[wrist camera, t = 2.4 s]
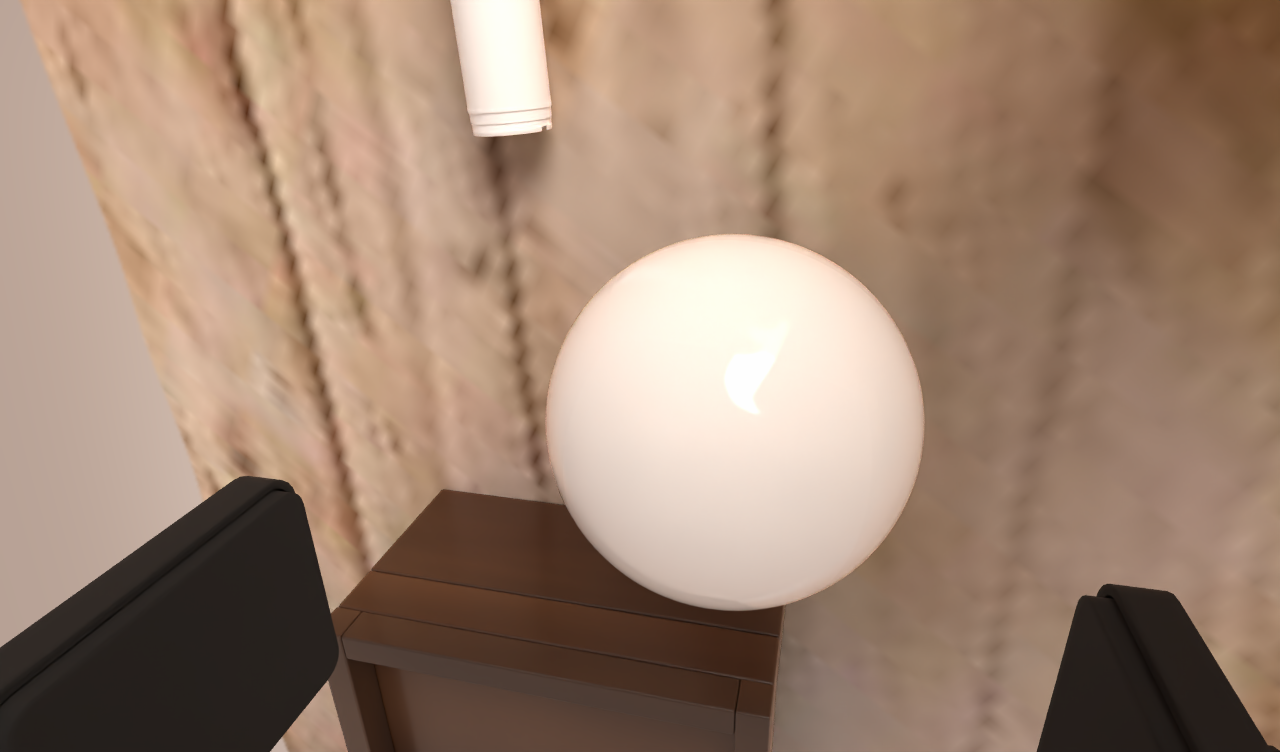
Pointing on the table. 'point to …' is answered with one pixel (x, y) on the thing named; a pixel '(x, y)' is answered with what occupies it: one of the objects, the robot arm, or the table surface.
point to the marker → (503, 65)
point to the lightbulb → (735, 422)
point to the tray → (540, 646)
